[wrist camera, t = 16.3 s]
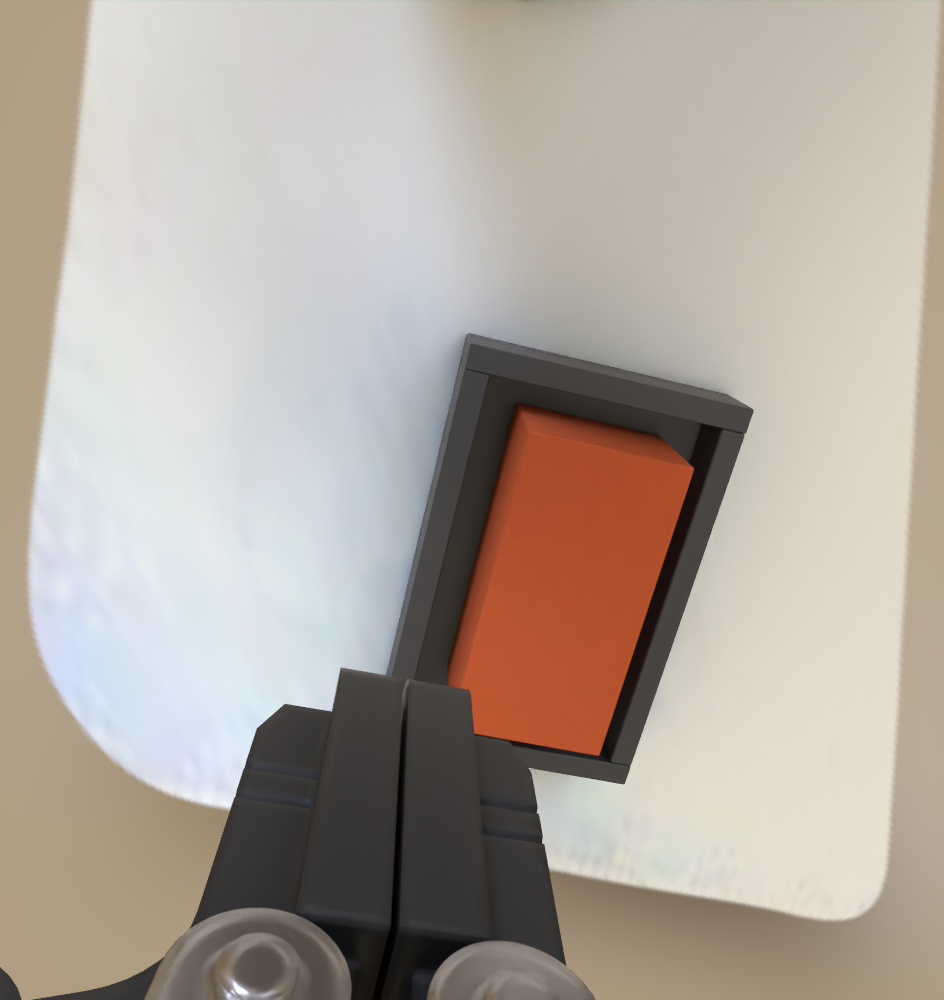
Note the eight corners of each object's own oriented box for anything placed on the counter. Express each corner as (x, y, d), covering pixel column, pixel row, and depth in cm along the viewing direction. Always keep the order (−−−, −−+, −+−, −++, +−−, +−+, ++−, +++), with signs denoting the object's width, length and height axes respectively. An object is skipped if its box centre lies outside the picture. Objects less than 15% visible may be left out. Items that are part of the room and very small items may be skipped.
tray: (466, 332, 28) (470, 343, 25) (728, 394, 29) (754, 409, 27) (378, 704, 32) (375, 742, 30) (611, 746, 33) (624, 785, 31)
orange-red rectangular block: (515, 401, 28) (529, 430, 24) (659, 435, 29) (696, 468, 25) (446, 667, 31) (449, 730, 27) (578, 692, 32) (599, 757, 28)
